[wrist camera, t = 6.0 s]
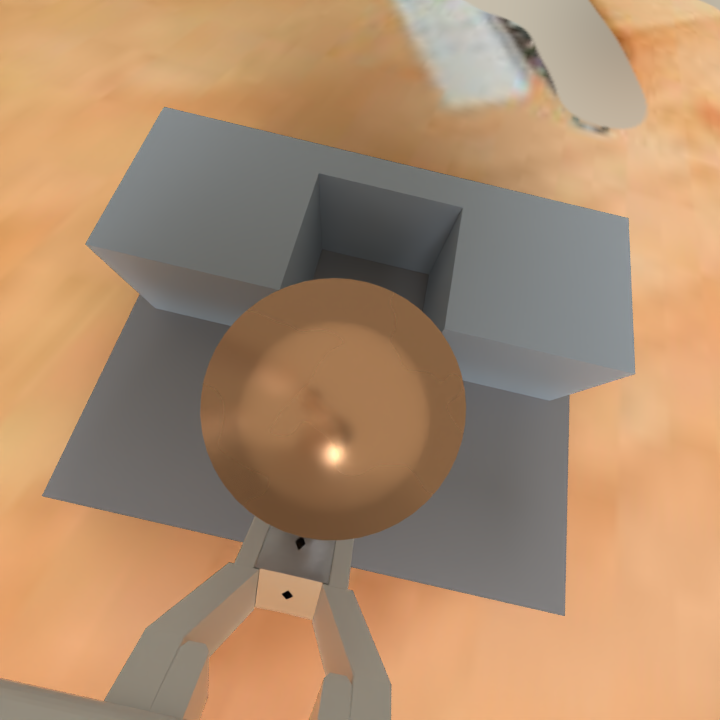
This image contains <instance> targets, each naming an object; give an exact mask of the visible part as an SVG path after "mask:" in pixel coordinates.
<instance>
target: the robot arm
mask: <svg viewBox="0 0 720 720" xmlns="http://www.w3.org/2000/svg"><path fill="white" fill-rule="evenodd" d="M353 543H354V539H347V540H317V539H311V538H304V537H300V536H297V535H294V534H290V533H287V532H284V531H282V530H280V529H277V528H275V527H273V526H271V525H269V524H267V523H265V522H264V521H262V520H261V519H259V518H258V517H256V516H255V517H254V519H253V521H252V524H251V526H250V528H249V531H248V533H247V535H246V537H245V540H244V542H243V544H242V547H241V549H240V551H239V553H238V556H237V558H236V560H235V563H230V562H229V563H228V564H226V565H225V566H224V567H223V568H221V569H220V570H219V571H218V572H216V573H215V574H214V575H213V576H211V577H210V578H209V579H208V580H206V581H205V582H204V583H203V584H201V585H200V586H199V587H197V588H196V589H195V590H194V591H192V592H191V593H190V594H189V595H187V596H186V597H185V598H184V599H182V600H181V601H180V602H179V603H177V604H176V605H175V606H173V607H172V608H171V609H170V610H168V611H167V612H166V613H165V614H163V615H162V616H161V617H160V618H158V619H157V620H156V621H155V622H153V623H152V624H151V625H149V626H148V627H147V628H146V629H145V631H144V633H143V634H142V636H141V638H140V639H139V641H138V643H137V645H136V646H135V648H134V650H133V652H132V653H131V655H130V657H129V658H128V660H127V662H126V664H125V665H124V667H123V669H122V670H121V672H120V674H119V676H118V677H117V679H116V681H115V683H114V684H113V686H112V688H111V689H110V691H109V693H108V695H107V696H106V698H105V700H104V701H101V700H97V699H92V698H88V697H84V696H79V695H75V694H70V693H66V692H61V691H57V690H52V689H48V688H43V687H39V686H34V685H30V684H25V683H21V682H17V681H12V680H8V679H3V678H0V720H200V718H201V715H202V712H203V709H204V706H205V704H206V701H207V698H208V676H209V657H210V656H211V655H212V654H213V653H214V652H215V651H216V650H217V649H218V648H219V646H220V645H221V644H222V643H223V642H224V641H225V640H226V639H227V638H228V637H229V636H230V635H231V634H232V633H233V631H234V630H235V629H236V628H237V627H238V626H239V625H240V624H241V623H242V622H243V621H244V620H245V619H246V617H247V616H248V615H249V614H250V613H251V612H252V611H253V610H254V607H256V608H261V609H266V610H271V611H276V612H281V613H286V614H289V615H293V616H297V617H301V618H305V619H309V620H312V624H313V628H314V632H315V636H316V640H317V644H318V648H319V652H320V656H321V660H322V664H323V668H324V672H325V676H326V677H325V678H324V680H323V682H322V685H321V688H320V691H319V693H318V696H317V699H316V701H315V704H314V707H313V710H312V712H311V715H310V718H309V720H391V683H390V680H389V678H388V675H387V673H386V671H385V668H384V666H383V663H382V661H381V658H380V656H379V653H378V651H377V649H376V646H375V644H374V641H373V639H372V636H371V634H370V631H369V629H368V627H367V624H366V622H365V619H364V617H363V614H362V612H361V609H360V607H359V605H358V602H357V600H356V597H355V595H354V592H353V591H352V590H348V585H349V576H350V568H351V560H352V551H353Z"/></svg>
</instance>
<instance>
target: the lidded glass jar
mask: <svg viewBox="0 0 720 720" xmlns="http://www.w3.org/2000/svg"><path fill="white" fill-rule="evenodd" d="M200 417H201V426H202V434H203V438H204V442H205V446H206V450H207V453H208V455H209V458H210V460H211V462H212V465H213V467H214V469H215V471H216V473H217V474H218V476H219V478H220V479H221V481H222V483H223V484H224V486H225V487H226V488H227V489H228V490H229V492H230V493H231V494H232V495H233V497H234V498H235V499H236V500H237V501H238V502H239V503H240V504H241V505H243V506H244V507H245V508H246V509H247V510H248V511H249V512H250V513H252V514H253V515H255V516H256V517H258V518H259V519H261V520H262V521H264V522H265V523H267V524H269V525H271V526H273V527H275V528H277V529H280V530H282V531H284V532H287V533H290V534H294V535H297V536H300V537H304V538H311V539H317V540H347V539H354V538H361V537H364V536H368V535H371V534H374V533H378V532H381V531H383V530H385V529H387V528H389V527H392V526H394V525H396V524H398V523H399V522H401V521H402V520H404V519H406V518H407V517H409V516H410V515H412V514H413V513H414V512H416V511H417V510H418V509H419V508H420V507H421V506H423V505H424V504H425V503H426V502H427V501H428V500H429V499H430V498H431V497H432V495H433V494H434V493H435V492H436V491H437V490H438V489H439V487H440V486H441V484H442V483H443V481H444V480H445V478H446V477H447V475H448V474H449V472H450V470H451V468H452V466H453V464H454V462H455V459H456V457H457V454H458V451H459V448H460V445H461V442H462V438H463V433H464V427H465V418H466V399H465V389H464V384H463V379H462V374H461V371H460V368H459V365H458V362H457V360H456V357H455V355H454V353H453V351H452V349H451V347H450V345H449V343H448V342H447V340H446V339H445V337H444V336H443V334H442V333H441V331H440V330H439V329H438V328H437V326H436V325H435V324H434V323H433V322H432V320H431V319H430V318H429V317H428V316H426V315H425V314H424V313H423V312H422V311H421V310H420V309H419V308H418V307H416V306H415V305H414V304H412V303H411V302H409V301H408V300H407V299H405V298H403V297H401V296H400V295H398V294H396V293H394V292H392V291H390V290H388V289H385V288H383V287H381V286H378V285H374V284H371V283H368V282H364V281H358V280H353V279H342V278H327V279H316V280H310V281H304V282H300V283H297V284H294V285H290V286H287V287H285V288H283V289H280V290H278V291H276V292H273V293H272V294H270V295H268V296H266V297H265V298H263V299H261V300H260V301H258V302H257V303H256V304H254V305H253V306H252V307H250V308H249V309H248V310H246V311H245V312H244V313H243V314H242V315H241V316H240V317H239V318H238V319H237V320H236V321H235V322H234V323H233V325H232V326H231V327H230V328H229V329H228V331H227V332H226V333H225V334H224V336H223V338H222V339H221V341H220V342H219V344H218V346H217V347H216V349H215V351H214V353H213V356H212V358H211V360H210V362H209V365H208V368H207V371H206V374H205V378H204V381H203V387H202V393H201V408H200Z"/></svg>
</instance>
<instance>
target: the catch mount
mask: <svg viewBox="0 0 720 720" xmlns="http://www.w3.org/2000/svg"><path fill="white" fill-rule="evenodd" d="M85 245H87V246H88V247H89V248H90V249H91V250H92V251H93V252H94V253H95V254H96V255H98V256H99V257H100V258H101V259H102V260H103V261H104V262H105V263H106V264H107V265H108V266H110V267H111V268H112V269H113V270H114V271H115V272H116V273H117V274H118V275H119V276H121V277H122V278H123V279H124V280H125V281H126V282H127V283H128V284H129V285H130V286H131V287H133V288H134V289H135V290H136V291H137V292H138V293H139V294H140V295H139V297H138V299H137V301H136V303H135V305H134V307H133V309H132V311H131V313H130V315H129V318H128V320H127V322H126V324H125V326H124V328H123V330H122V332H121V334H120V336H119V338H118V340H117V342H116V344H115V346H114V348H113V351H112V353H111V355H110V357H109V359H108V361H107V363H106V365H105V367H104V369H103V371H102V373H101V375H100V377H99V379H98V382H97V384H96V386H95V388H94V390H93V392H92V394H91V396H90V398H89V400H88V402H87V404H86V406H85V408H84V410H83V412H82V415H81V417H80V419H79V421H78V423H77V425H76V427H75V429H74V431H73V433H72V435H71V437H70V439H69V441H68V443H67V445H66V448H65V450H64V452H63V454H62V456H61V458H60V460H59V462H58V464H57V466H56V468H55V470H54V472H53V474H52V476H51V479H50V481H49V483H48V485H47V487H46V489H45V491H44V493H43V495H42V496H44V497H48V498H52V499H57V500H61V501H65V502H70V503H74V504H78V505H83V506H87V507H92V508H96V509H100V510H105V511H109V512H113V513H118V514H122V515H126V516H131V517H135V518H140V519H144V520H148V521H153V522H157V523H161V524H166V525H170V526H174V527H179V528H183V529H187V530H192V531H196V532H201V533H205V534H209V535H214V536H218V537H222V538H227V539H231V540H235V541H240V542H244V540H245V537H246V535H247V533H248V531H249V528H250V526H251V524H252V521H253V519H254V517H255V515H253V514H252V513H250V512H249V511H248V510H247V509H246V508H245V507H244V506H243V505H241V504H240V503H239V502H238V501H237V500H236V499H235V498H234V497H233V495H232V494H231V493H230V492H229V490H228V489H227V488H226V487H225V486H224V484H223V483H222V481H221V479H220V478H219V476H218V474H217V473H216V471H215V469H214V467H213V465H212V462H211V460H210V458H209V455H208V453H207V450H206V446H205V442H204V438H203V434H202V426H201V417H200V408H201V393H202V387H203V381H204V378H205V374H206V371H207V368H208V365H209V362H210V360H211V358H212V356H213V353H214V351H215V349H216V347H217V346H218V344H219V342H220V341H221V339H222V338H223V336H224V334H225V333H226V332H227V331H228V329H229V328H230V327H231V326H232V325H233V323H234V322H235V321H236V320H237V319H238V318H239V317H240V316H241V315H242V314H243V313H244V312H245V311H246V310H248V309H249V308H250V307H252V306H253V305H254V304H256V303H257V302H258V301H260V300H261V299H263V298H265V297H266V296H268V295H270V294H272V293H273V292H276V291H278V290H280V289H283V288H285V287H287V286H290V285H294V284H297V283H300V282H304V281H310V280H316V279H327V278H342V279H353V280H358V281H364V282H368V283H371V284H374V285H378V286H381V287H383V288H385V289H388V290H390V291H392V292H394V293H396V294H398V295H400V296H401V297H403V298H405V299H407V300H408V301H409V302H411V303H412V304H414V305H415V306H416V307H418V308H419V309H420V310H421V311H422V312H423V313H424V314H425V315H426V316H428V317H429V318H430V319H431V320H432V322H433V323H434V324H435V325H436V326H437V328H438V329H439V330H440V331H441V333H442V334H443V336H444V337H445V339H446V340H447V342H448V343H449V345H450V347H451V349H452V351H453V353H454V355H455V357H456V360H457V362H458V365H459V368H460V371H461V374H462V379H463V384H464V389H465V399H466V418H465V427H464V433H463V438H462V442H461V445H460V448H459V451H458V454H457V457H456V459H455V462H454V464H453V466H452V468H451V470H450V472H449V474H448V475H447V477H446V478H445V480H444V481H443V483H442V484H441V486H440V487H439V489H438V490H437V491H436V492H435V493H434V494H433V495H432V497H431V498H430V499H429V500H428V501H427V502H426V503H425V504H424V505H423V506H421V507H420V508H419V509H418V510H417V511H416V512H414V513H413V514H412V515H410V516H409V517H407V518H406V519H404V520H402V521H401V522H399V523H398V524H396V525H394V526H392V527H389V528H387V529H385V530H383V531H381V532H378V533H374V534H371V535H368V536H364V537H361V538H354V543H353V551H352V560H351V567H353V568H358V569H362V570H366V571H371V572H375V573H379V574H384V575H388V576H392V577H397V578H401V579H405V580H410V581H414V582H419V583H423V584H427V585H432V586H436V587H440V588H445V589H449V590H453V591H458V592H462V593H467V594H471V595H475V596H480V597H484V598H488V599H493V600H497V601H501V602H506V603H510V604H514V605H519V606H523V607H528V608H532V609H536V610H541V611H545V612H549V613H554V614H558V615H562V616H565V583H566V535H567V487H568V439H569V395H570V394H573V393H576V392H579V391H583V390H586V389H589V388H592V387H595V386H598V385H602V384H605V383H608V382H611V381H614V380H618V379H621V378H624V377H627V376H630V375H634V374H635V357H634V335H633V312H632V289H631V266H630V243H629V220H628V218H625V217H621V216H617V215H613V214H609V213H605V212H600V211H596V210H592V209H588V208H584V207H580V206H575V205H571V204H567V203H563V202H559V201H554V200H550V199H546V198H542V197H538V196H534V195H529V194H525V193H521V192H517V191H513V190H509V189H504V188H500V187H496V186H492V185H488V184H484V183H479V182H475V181H471V180H467V179H463V178H459V177H454V176H450V175H446V174H442V173H438V172H434V171H429V170H425V169H421V168H417V167H413V166H409V165H404V164H400V163H396V162H392V161H388V160H384V159H379V158H375V157H371V156H367V155H363V154H359V153H354V152H350V151H346V150H342V149H338V148H334V147H329V146H325V145H321V144H317V143H313V142H309V141H304V140H300V139H296V138H292V137H288V136H283V135H279V134H275V133H271V132H267V131H263V130H258V129H254V128H250V127H246V126H242V125H238V124H233V123H229V122H225V121H221V120H217V119H213V118H208V117H204V116H200V115H196V114H192V113H188V112H183V111H179V110H175V109H171V108H167V107H164V108H163V110H162V111H161V113H160V115H159V116H158V118H157V120H156V122H155V123H154V125H153V127H152V129H151V130H150V132H149V134H148V136H147V137H146V139H145V141H144V143H143V144H142V146H141V148H140V150H139V151H138V153H137V155H136V157H135V158H134V160H133V162H132V164H131V165H130V167H129V169H128V170H127V172H126V174H125V176H124V177H123V179H122V181H121V183H120V184H119V186H118V188H117V190H116V191H115V193H114V195H113V197H112V198H111V200H110V202H109V204H108V205H107V207H106V209H105V211H104V212H103V214H102V216H101V218H100V219H99V221H98V223H97V224H96V226H95V228H94V230H93V231H92V233H91V235H90V237H89V238H88V240H87V242H86V244H85Z"/></svg>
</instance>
